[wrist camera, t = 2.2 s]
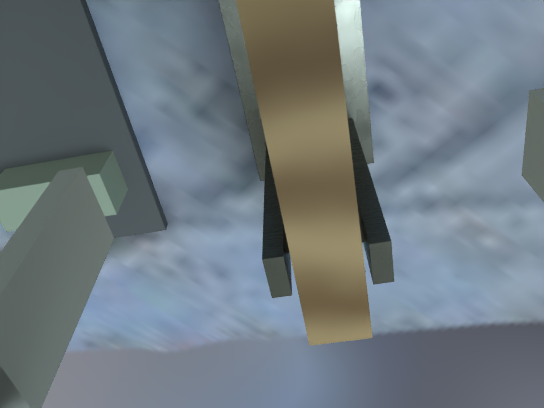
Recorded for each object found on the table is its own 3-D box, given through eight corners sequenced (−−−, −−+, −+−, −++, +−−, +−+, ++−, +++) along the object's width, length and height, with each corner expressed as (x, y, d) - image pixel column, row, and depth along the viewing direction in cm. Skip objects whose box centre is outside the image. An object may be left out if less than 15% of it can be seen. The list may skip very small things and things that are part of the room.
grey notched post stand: (161, -263, 30) (48, -393, 15) (329, -306, 29) (389, -492, 14) (260, 172, 46) (254, 318, 31) (371, 154, 45) (419, 297, 30)
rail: (142, -500, 16) (108, -594, 13) (263, -538, 16) (261, -644, 13) (306, 301, 36) (309, 345, 33) (363, 293, 36) (372, 337, 32)
